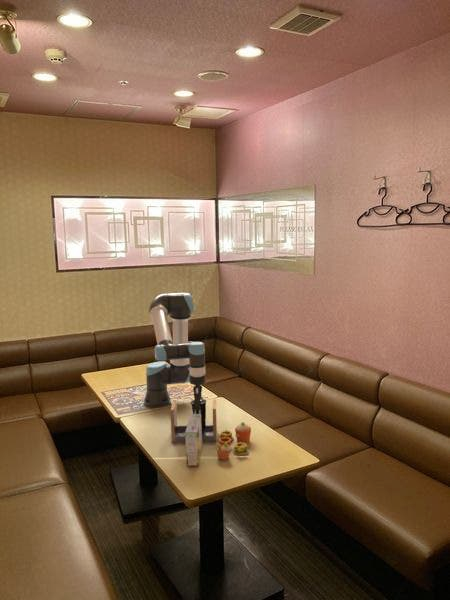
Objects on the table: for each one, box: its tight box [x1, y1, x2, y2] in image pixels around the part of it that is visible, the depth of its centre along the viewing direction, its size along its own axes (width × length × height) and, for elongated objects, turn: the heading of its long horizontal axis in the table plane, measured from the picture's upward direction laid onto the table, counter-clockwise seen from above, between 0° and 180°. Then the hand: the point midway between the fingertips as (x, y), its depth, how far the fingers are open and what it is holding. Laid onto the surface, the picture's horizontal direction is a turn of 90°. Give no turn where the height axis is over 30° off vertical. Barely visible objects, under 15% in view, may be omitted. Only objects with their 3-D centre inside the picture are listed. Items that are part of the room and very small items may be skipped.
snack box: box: [185, 413, 204, 467], centre depth 210 cm, size 21×6×15 cm, turn 178°
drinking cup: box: [190, 398, 207, 430], centre depth 233 cm, size 8×8×20 cm
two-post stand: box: [170, 398, 218, 444], centre depth 230 cm, size 13×21×16 cm, turn 91°
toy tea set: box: [216, 421, 252, 460], centre depth 217 cm, size 26×16×10 cm, turn 175°
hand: (198, 418), depth 230 cm, fingers open, 13 cm apart
